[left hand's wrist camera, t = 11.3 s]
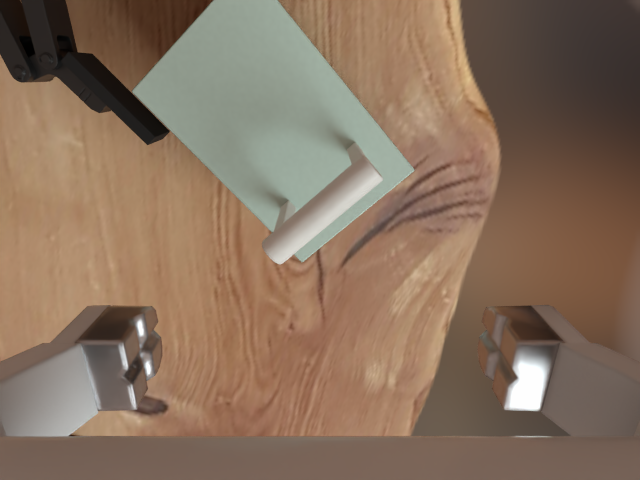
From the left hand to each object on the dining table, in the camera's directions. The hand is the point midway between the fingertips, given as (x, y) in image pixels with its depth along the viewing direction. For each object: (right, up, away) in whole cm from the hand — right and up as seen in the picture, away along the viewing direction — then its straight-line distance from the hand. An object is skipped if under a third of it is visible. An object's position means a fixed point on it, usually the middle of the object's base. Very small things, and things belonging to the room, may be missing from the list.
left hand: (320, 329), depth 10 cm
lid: (-2, +9, +14) cm, 17 cm away
